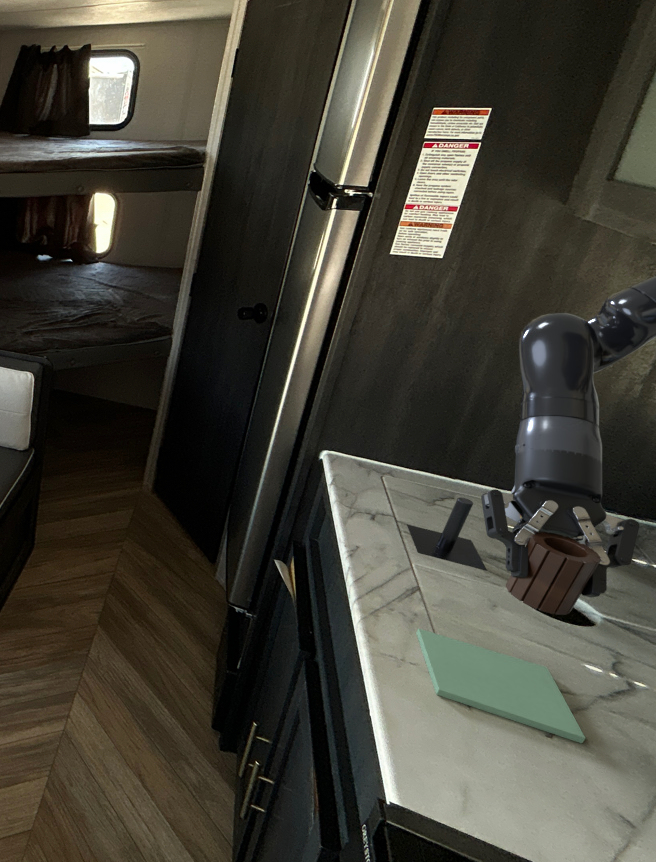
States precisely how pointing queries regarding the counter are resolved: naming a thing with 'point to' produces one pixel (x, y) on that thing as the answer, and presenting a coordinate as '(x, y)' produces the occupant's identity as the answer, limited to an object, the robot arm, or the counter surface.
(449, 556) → the peg stand
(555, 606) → the brown grooved hollow cylinder
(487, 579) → the counter surface
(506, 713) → the mat
